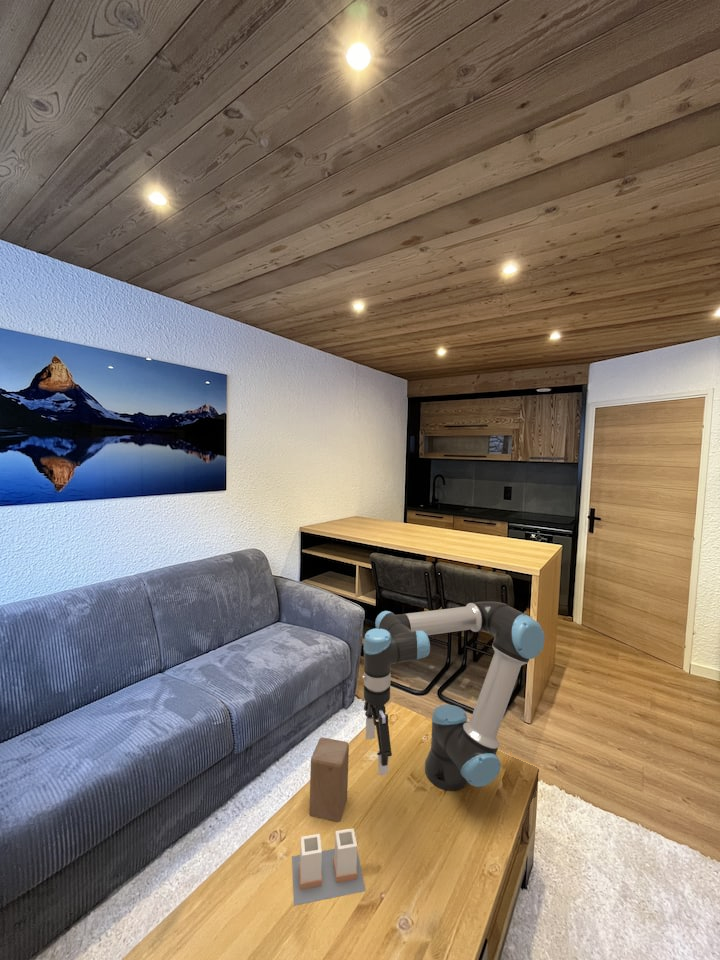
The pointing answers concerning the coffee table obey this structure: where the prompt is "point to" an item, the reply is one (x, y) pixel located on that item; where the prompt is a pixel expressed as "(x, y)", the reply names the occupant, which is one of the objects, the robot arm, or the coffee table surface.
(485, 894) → the coffee table surface
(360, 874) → the pin board
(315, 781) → the wooden block
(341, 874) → the sleeve
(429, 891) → the coffee table surface
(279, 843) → the coffee table surface
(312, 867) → the sleeve
